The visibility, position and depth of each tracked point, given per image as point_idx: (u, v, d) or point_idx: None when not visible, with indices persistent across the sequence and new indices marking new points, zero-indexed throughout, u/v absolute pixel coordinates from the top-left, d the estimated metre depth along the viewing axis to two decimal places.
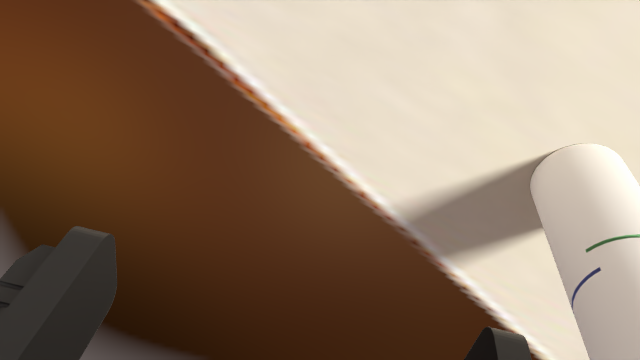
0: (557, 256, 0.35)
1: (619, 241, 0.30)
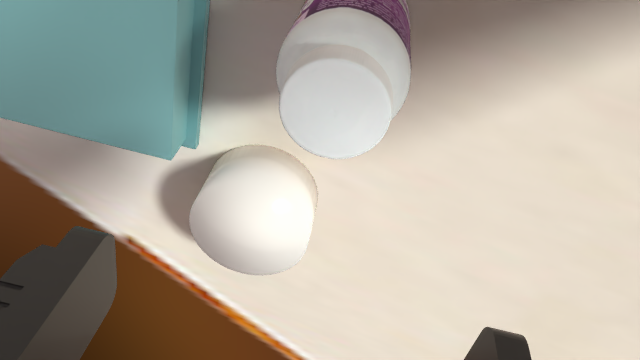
0: None
1: None
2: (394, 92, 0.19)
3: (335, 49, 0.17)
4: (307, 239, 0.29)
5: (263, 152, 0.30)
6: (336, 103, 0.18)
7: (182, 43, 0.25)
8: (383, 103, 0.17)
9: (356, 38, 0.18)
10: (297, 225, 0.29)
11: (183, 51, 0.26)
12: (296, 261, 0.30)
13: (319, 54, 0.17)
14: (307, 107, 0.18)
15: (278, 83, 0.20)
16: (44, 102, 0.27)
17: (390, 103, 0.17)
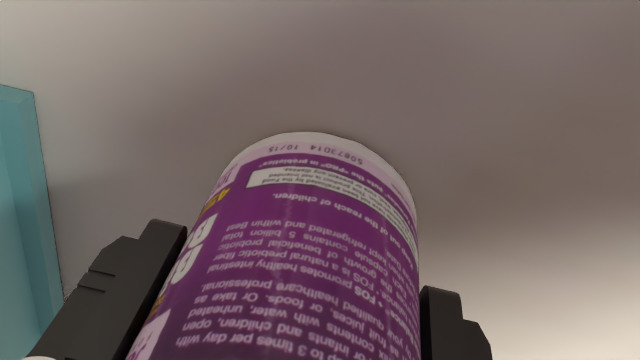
0: None
1: None
2: None
3: None
4: None
5: None
6: None
7: None
8: None
9: None
10: None
11: None
12: None
13: None
14: None
15: None
16: None
17: None
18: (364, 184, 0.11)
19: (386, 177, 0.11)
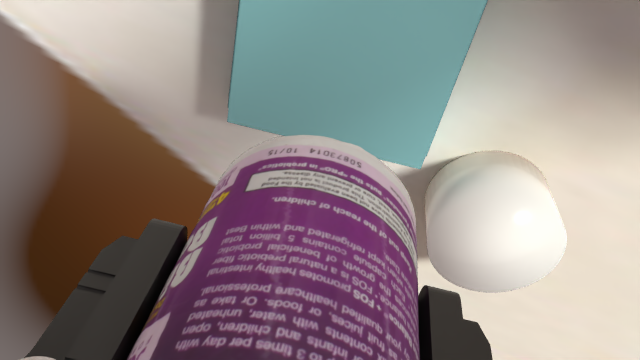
0: None
1: None
2: None
3: None
4: (562, 254, 0.27)
5: (507, 159, 0.27)
6: None
7: None
8: None
9: None
10: (556, 239, 0.26)
11: None
12: (540, 277, 0.28)
13: None
14: None
15: None
16: (291, 106, 0.25)
17: None
18: (363, 187, 0.11)
19: (385, 180, 0.11)
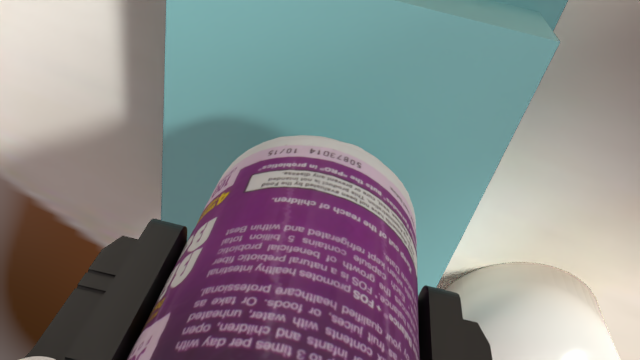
0: None
1: None
2: None
3: None
4: None
5: (546, 278, 0.20)
6: None
7: None
8: None
9: None
10: None
11: None
12: None
13: None
14: None
15: None
16: None
17: None
18: (363, 187, 0.11)
19: (385, 180, 0.11)
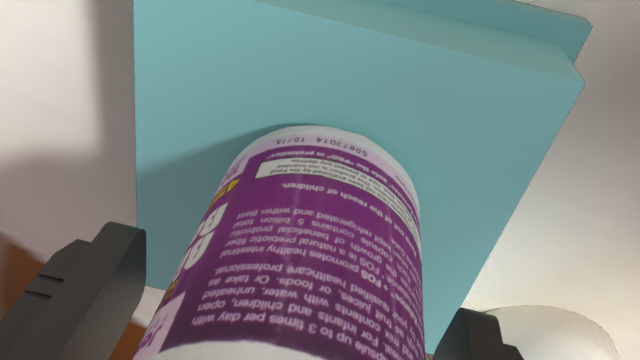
0: None
1: None
2: None
3: None
4: None
5: (560, 323, 0.18)
6: None
7: None
8: None
9: None
10: None
11: None
12: None
13: None
14: None
15: None
16: None
17: None
18: (369, 174, 0.11)
19: (390, 168, 0.12)
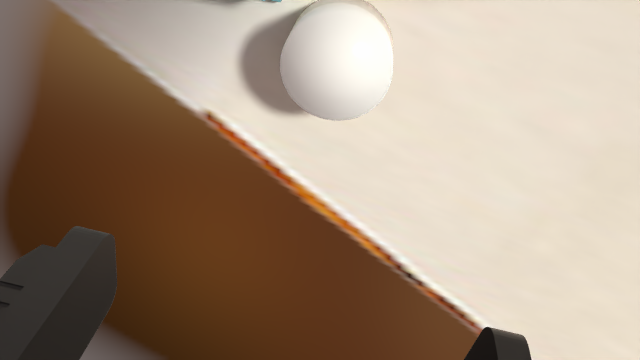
0: None
1: None
2: None
3: None
4: (391, 73, 0.31)
5: None
6: None
7: None
8: None
9: None
10: (383, 57, 0.31)
11: None
12: (379, 100, 0.32)
13: None
14: None
15: None
16: None
17: None
18: None
19: None
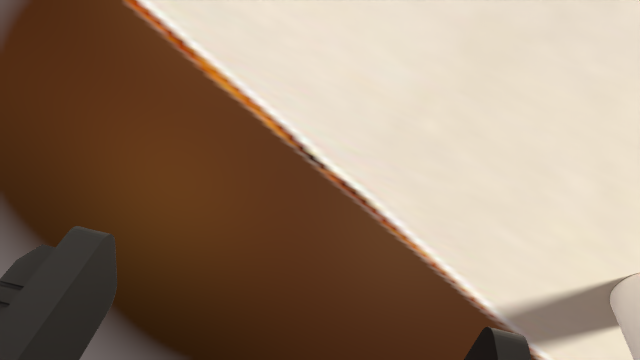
0: None
1: None
2: None
3: None
4: None
5: None
6: None
7: None
8: None
9: None
10: None
11: None
12: None
13: None
14: None
15: None
16: None
17: None
18: None
19: None
